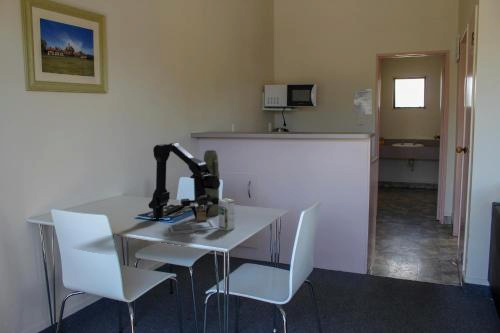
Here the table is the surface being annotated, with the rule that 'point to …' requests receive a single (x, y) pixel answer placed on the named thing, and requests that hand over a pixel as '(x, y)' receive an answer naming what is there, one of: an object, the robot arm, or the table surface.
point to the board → (203, 225)
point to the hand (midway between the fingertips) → (200, 218)
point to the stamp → (200, 214)
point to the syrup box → (226, 214)
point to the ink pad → (181, 228)
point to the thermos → (212, 165)
